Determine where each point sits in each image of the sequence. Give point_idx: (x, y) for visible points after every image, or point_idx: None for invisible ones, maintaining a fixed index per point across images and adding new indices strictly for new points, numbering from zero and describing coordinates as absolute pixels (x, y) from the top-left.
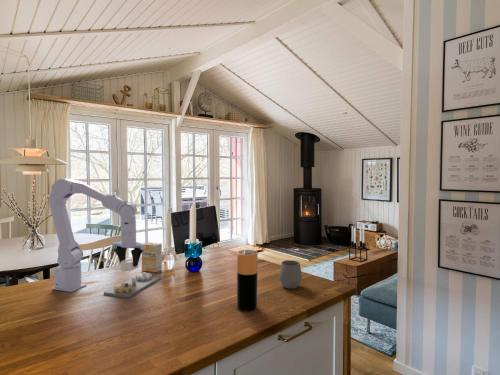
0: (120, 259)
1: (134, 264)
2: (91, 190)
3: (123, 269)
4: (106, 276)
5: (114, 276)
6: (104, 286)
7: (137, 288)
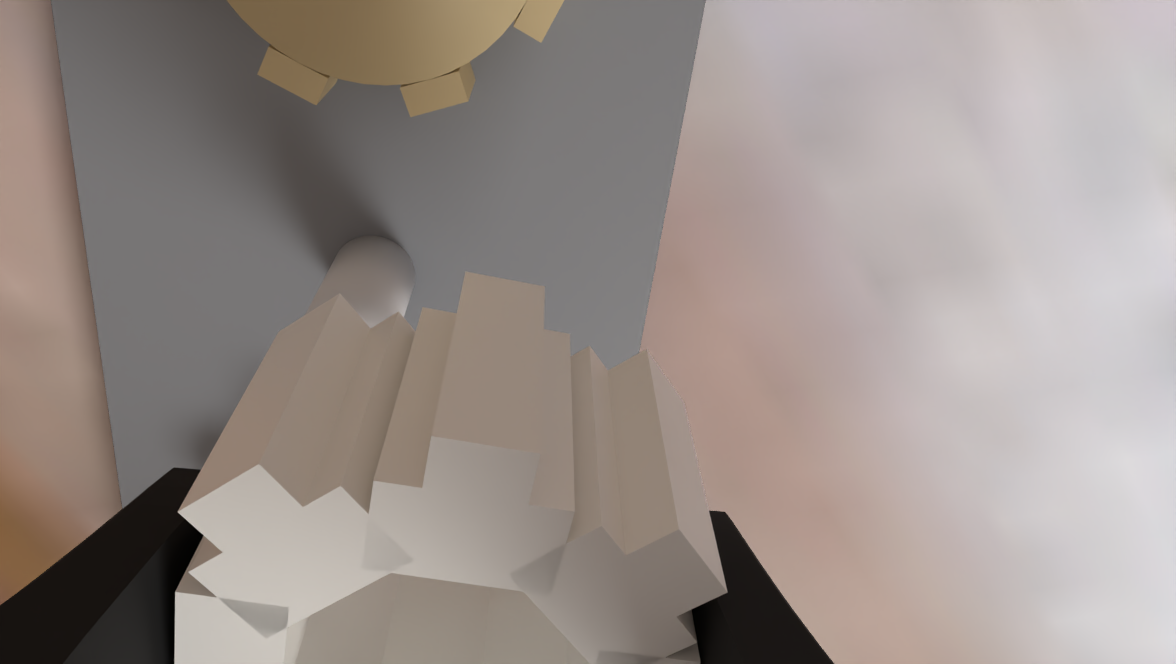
0: (745, 642)
1: (130, 508)
2: None
3: (499, 299)
4: (1124, 567)
5: (988, 588)
6: (971, 150)
7: (129, 53)
